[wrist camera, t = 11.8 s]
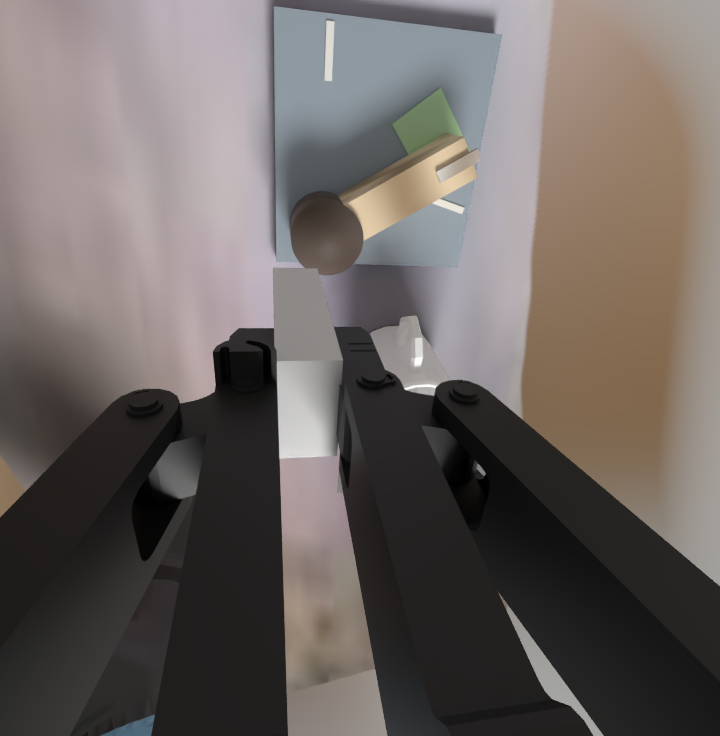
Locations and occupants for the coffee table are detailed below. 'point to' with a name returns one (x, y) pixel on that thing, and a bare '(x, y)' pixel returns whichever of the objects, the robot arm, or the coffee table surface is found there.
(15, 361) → the coffee table surface
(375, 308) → the coffee table surface
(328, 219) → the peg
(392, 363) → the mug
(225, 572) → the robot arm
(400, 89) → the board
